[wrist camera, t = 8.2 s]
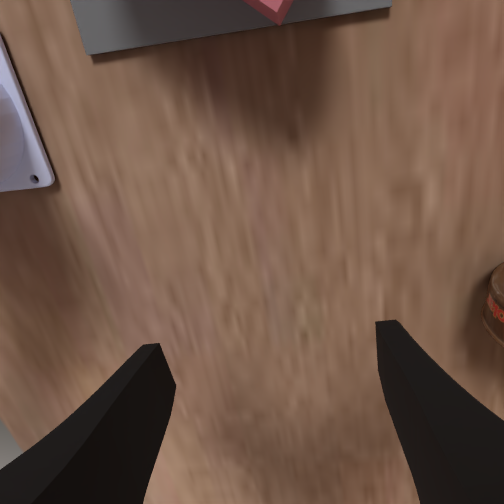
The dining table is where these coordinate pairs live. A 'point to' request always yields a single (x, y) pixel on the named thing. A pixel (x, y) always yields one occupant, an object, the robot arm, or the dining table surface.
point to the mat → (188, 19)
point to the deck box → (271, 8)
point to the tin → (495, 306)
